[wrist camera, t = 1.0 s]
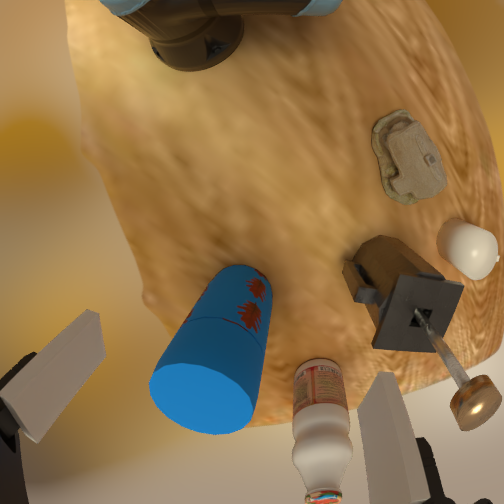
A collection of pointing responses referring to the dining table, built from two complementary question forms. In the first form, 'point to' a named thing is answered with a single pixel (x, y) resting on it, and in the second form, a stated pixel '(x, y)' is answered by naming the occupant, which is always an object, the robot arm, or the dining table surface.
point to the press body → (400, 293)
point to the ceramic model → (407, 159)
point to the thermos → (217, 355)
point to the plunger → (462, 382)
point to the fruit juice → (321, 430)
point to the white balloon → (468, 248)
